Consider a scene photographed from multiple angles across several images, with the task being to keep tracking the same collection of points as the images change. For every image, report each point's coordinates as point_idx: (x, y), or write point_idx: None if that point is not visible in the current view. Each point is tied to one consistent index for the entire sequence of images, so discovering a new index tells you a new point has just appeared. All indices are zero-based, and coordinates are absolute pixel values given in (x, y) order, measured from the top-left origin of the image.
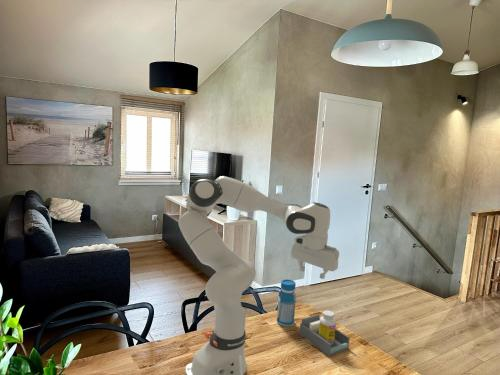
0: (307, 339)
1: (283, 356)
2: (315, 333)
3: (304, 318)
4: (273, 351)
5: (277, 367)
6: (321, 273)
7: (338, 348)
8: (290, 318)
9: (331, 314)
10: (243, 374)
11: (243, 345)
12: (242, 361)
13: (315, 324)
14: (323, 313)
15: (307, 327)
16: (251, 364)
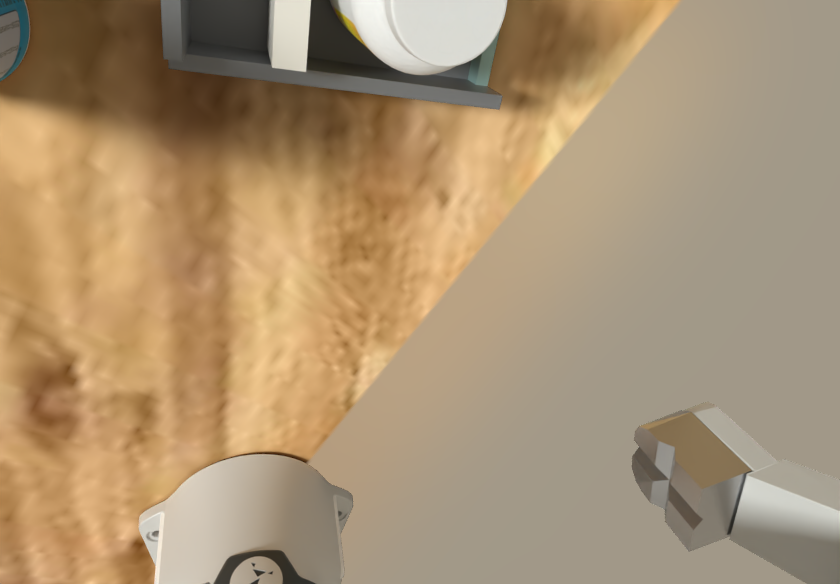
0: None
1: (321, 298)
2: (353, 81)
3: (167, 28)
4: (259, 316)
5: (366, 362)
6: (700, 513)
7: None
8: (6, 36)
9: (488, 5)
10: (327, 482)
11: (310, 573)
12: (332, 535)
13: (308, 30)
14: (419, 59)
15: (252, 63)
16: (287, 435)
